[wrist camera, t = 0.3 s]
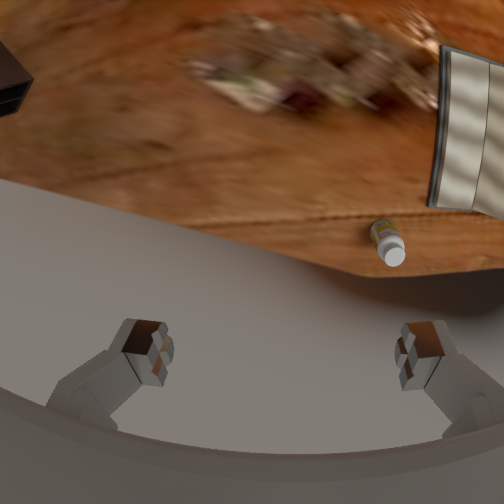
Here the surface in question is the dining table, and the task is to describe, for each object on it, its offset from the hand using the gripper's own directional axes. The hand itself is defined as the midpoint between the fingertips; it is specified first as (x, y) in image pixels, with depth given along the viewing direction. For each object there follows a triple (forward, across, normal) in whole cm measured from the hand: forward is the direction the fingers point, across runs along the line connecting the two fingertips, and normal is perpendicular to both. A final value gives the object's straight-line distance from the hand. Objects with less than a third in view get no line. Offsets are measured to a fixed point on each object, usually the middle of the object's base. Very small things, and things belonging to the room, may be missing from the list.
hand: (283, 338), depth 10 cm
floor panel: (+47, -40, 0) cm, 62 cm away
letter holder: (+48, +62, -23) cm, 82 cm away
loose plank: (+43, -44, 0) cm, 61 cm away
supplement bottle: (+48, -18, +22) cm, 55 cm away
